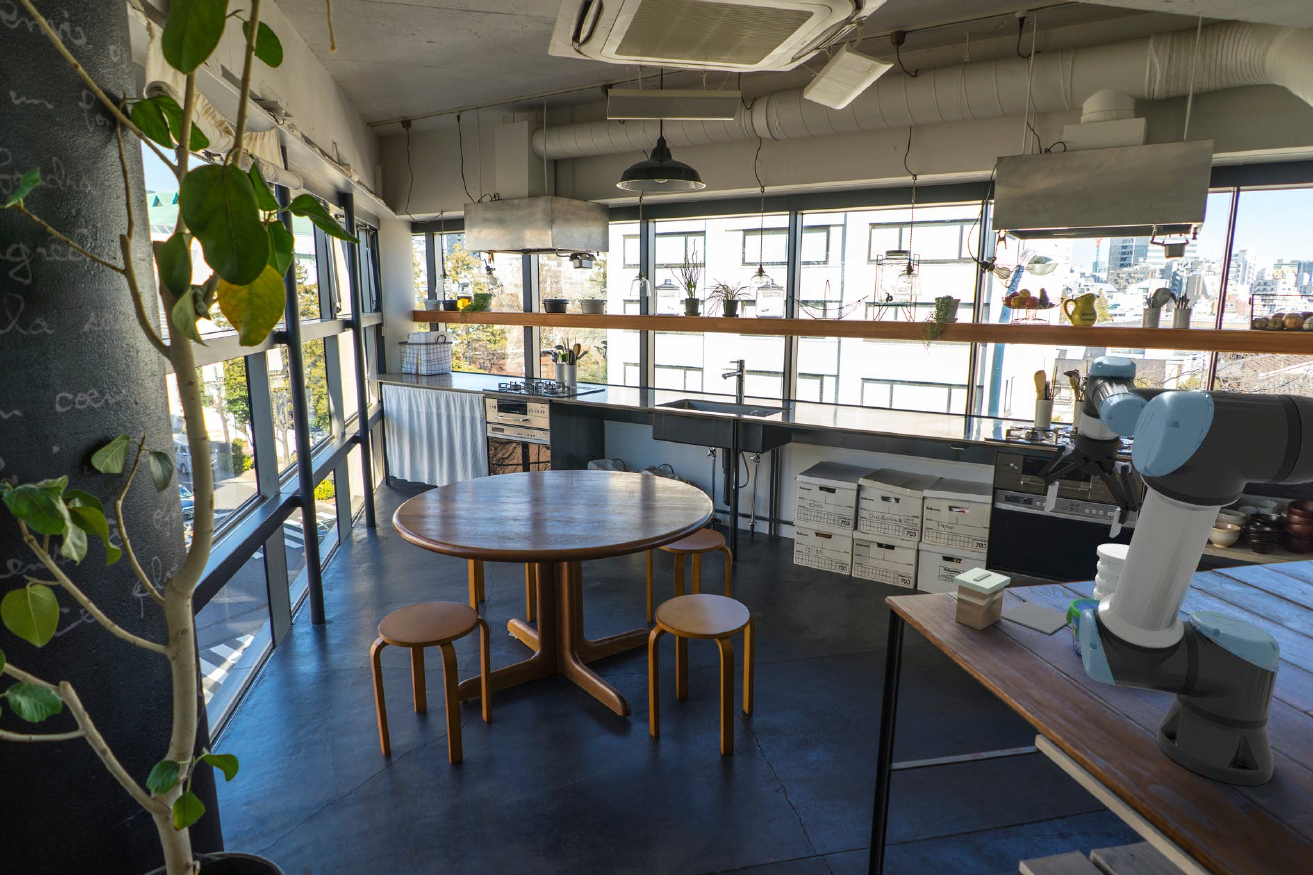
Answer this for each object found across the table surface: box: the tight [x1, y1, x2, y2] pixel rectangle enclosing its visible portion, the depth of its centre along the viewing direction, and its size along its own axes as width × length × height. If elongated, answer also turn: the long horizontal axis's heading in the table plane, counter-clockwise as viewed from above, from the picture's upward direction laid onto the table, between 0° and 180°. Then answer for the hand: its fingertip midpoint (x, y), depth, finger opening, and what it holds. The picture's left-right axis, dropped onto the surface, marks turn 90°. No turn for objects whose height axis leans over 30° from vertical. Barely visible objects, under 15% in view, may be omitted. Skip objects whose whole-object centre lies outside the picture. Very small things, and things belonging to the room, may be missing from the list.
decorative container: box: [1093, 543, 1130, 600], centre depth 160 cm, size 12×12×18 cm
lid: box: [953, 567, 1011, 595], centre depth 164 cm, size 10×8×2 cm
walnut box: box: [954, 585, 1005, 631], centre depth 165 cm, size 9×6×9 cm
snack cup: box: [1066, 598, 1101, 656], centre depth 149 cm, size 16×10×10 cm
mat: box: [1001, 600, 1069, 636], centre depth 167 cm, size 13×11×1 cm
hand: (1080, 521), depth 154 cm, fingers open, 13 cm apart
